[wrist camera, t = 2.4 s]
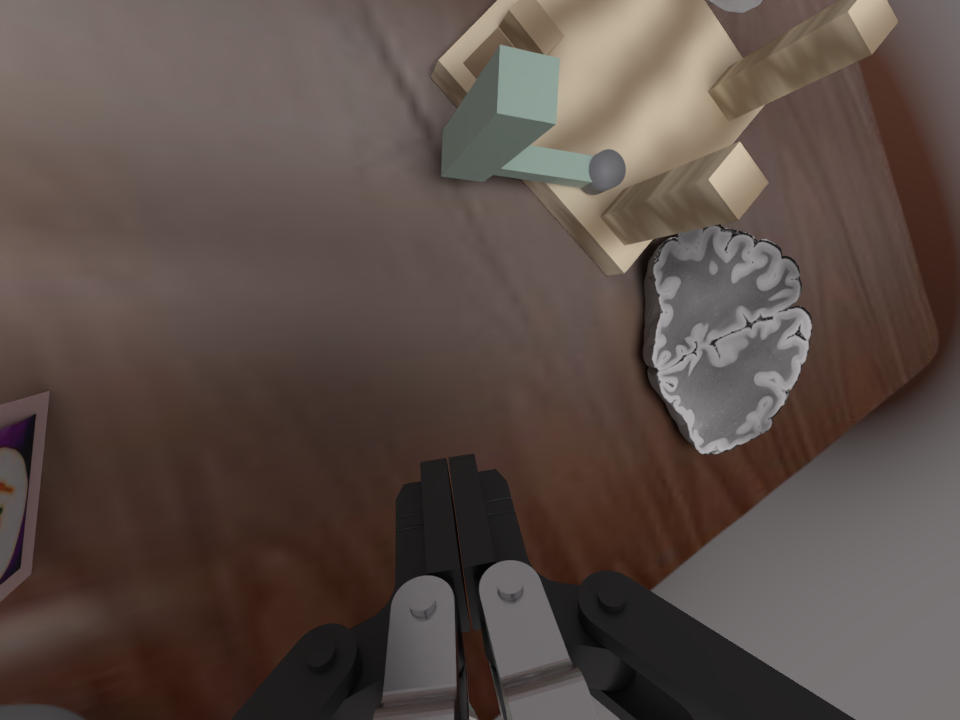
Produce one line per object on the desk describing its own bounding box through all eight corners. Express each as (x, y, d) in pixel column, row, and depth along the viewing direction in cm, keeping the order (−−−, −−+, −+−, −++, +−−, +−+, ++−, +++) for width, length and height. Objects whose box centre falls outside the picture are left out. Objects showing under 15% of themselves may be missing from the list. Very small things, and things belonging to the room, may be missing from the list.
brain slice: (799, 393, 49) (828, 397, 46) (662, 466, 45) (685, 476, 42) (755, 197, 45) (784, 189, 42) (600, 256, 41) (621, 252, 38)
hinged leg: (609, 158, 37) (725, 96, 26) (607, 199, 37) (720, 154, 27) (442, 130, 33) (500, 44, 22) (440, 176, 33) (496, 113, 23)
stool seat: (430, 77, 35) (493, -59, 22) (602, -99, 38) (747, -309, 25) (606, 275, 41) (737, 258, 28) (745, 110, 44) (921, 26, 31)
